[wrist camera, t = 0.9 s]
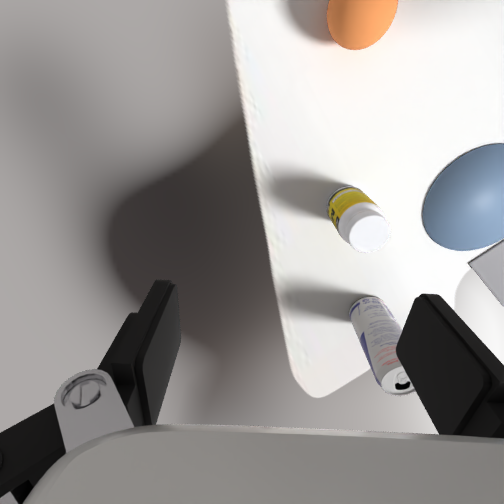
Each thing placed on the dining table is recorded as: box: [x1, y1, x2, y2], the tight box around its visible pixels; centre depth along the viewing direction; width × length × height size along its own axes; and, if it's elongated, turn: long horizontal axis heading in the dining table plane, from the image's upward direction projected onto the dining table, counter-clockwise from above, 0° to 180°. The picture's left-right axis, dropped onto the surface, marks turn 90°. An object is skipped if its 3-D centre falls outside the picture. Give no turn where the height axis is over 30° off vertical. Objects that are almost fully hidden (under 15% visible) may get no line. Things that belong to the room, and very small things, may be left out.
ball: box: [327, 0, 398, 50], centre depth 24 cm, size 6×6×6 cm
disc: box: [423, 144, 504, 251], centre depth 35 cm, size 13×13×1 cm
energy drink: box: [349, 297, 416, 396], centre depth 37 cm, size 5×5×12 cm
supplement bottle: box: [327, 186, 391, 253], centre depth 32 cm, size 5×5×8 cm
